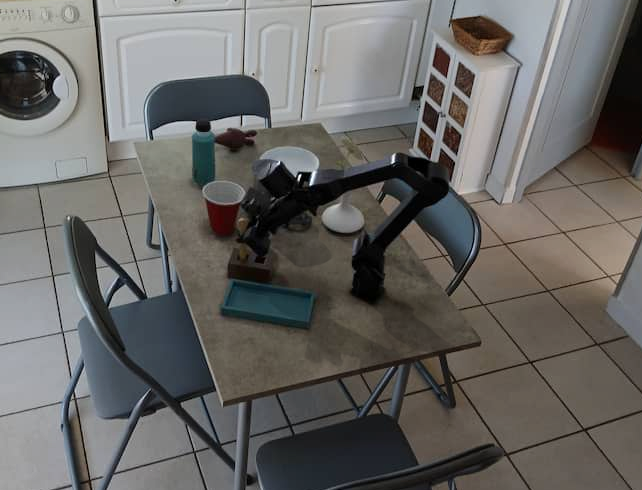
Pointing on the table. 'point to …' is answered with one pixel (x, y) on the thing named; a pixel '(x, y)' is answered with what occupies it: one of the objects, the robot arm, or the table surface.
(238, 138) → the brown stuffed toy
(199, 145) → the beverage bottle
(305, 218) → the milk frother
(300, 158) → the cereal bowl
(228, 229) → the plastic cup
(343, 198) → the flower in vase
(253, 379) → the table surface
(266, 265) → the slotted brown holder
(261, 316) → the tray
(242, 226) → the tan round-headed peg
